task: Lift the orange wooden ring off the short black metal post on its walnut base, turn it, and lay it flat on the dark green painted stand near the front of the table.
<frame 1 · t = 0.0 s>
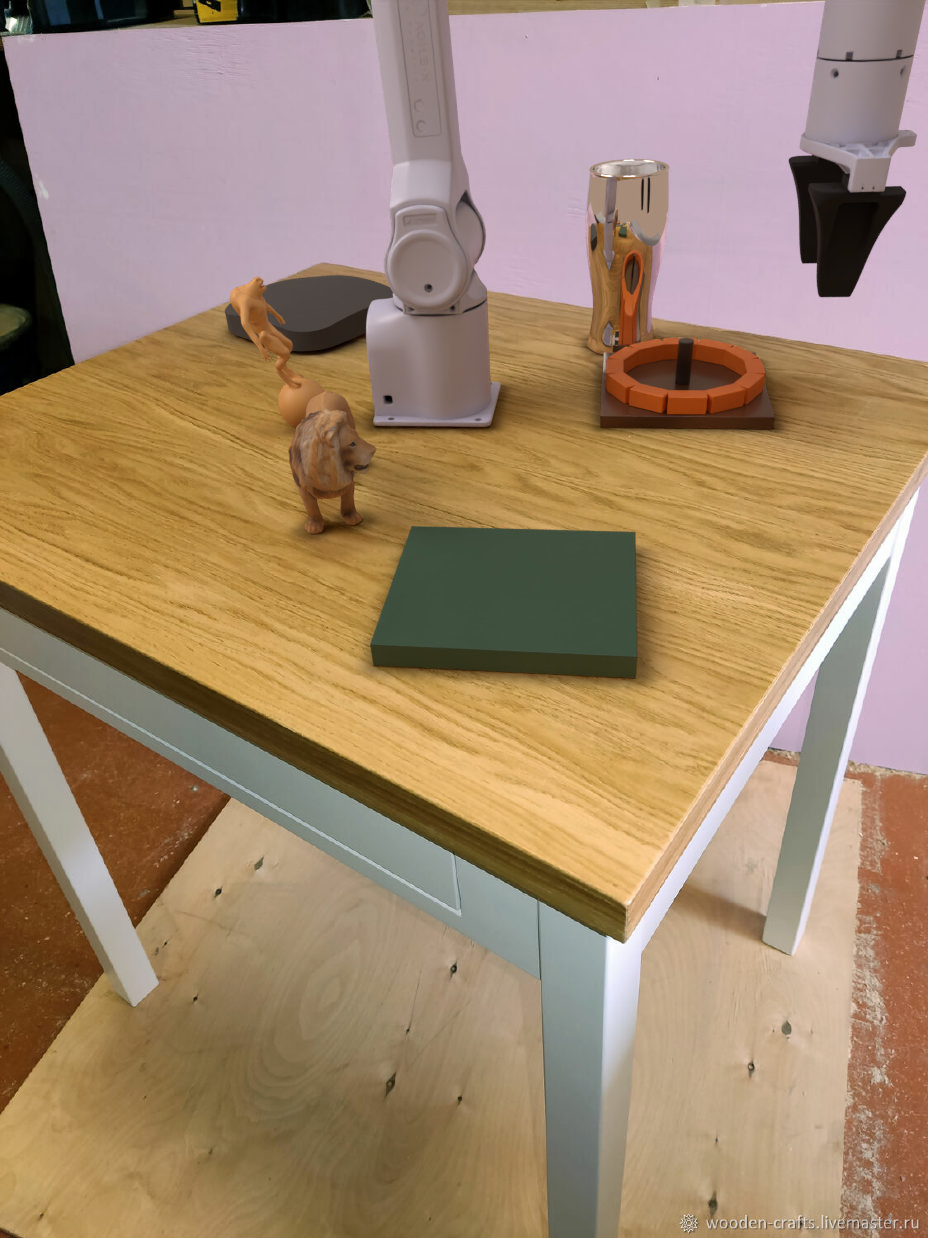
hand: (824, 278, 65), 10 cm above the table, tool pointing down, fingers open, 7 cm apart
post: (681, 393, 75), on the table
media streaming box: (315, 325, 93), on the table
lion figurine: (342, 506, 63), on the table
figurine: (295, 429, 74), on the table
ring: (682, 382, 74), point 1 cm above the table, touching post
beer glass: (620, 346, 84), on the table
stand: (512, 604, 53), on the table
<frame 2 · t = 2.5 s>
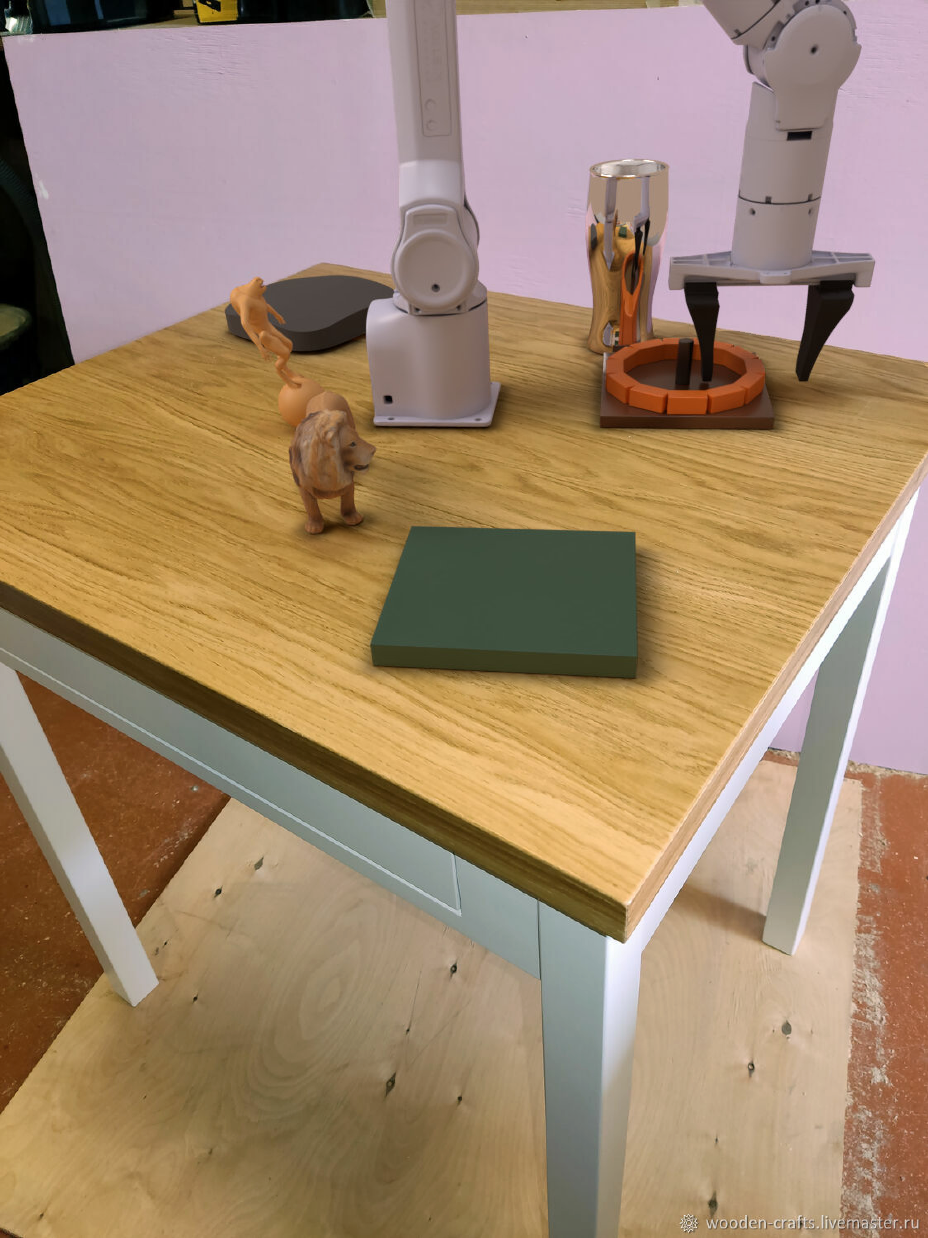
hand: (753, 376, 73), 1 cm above the table, tool pointing down, fingers open, 7 cm apart
nothing on the table moved.
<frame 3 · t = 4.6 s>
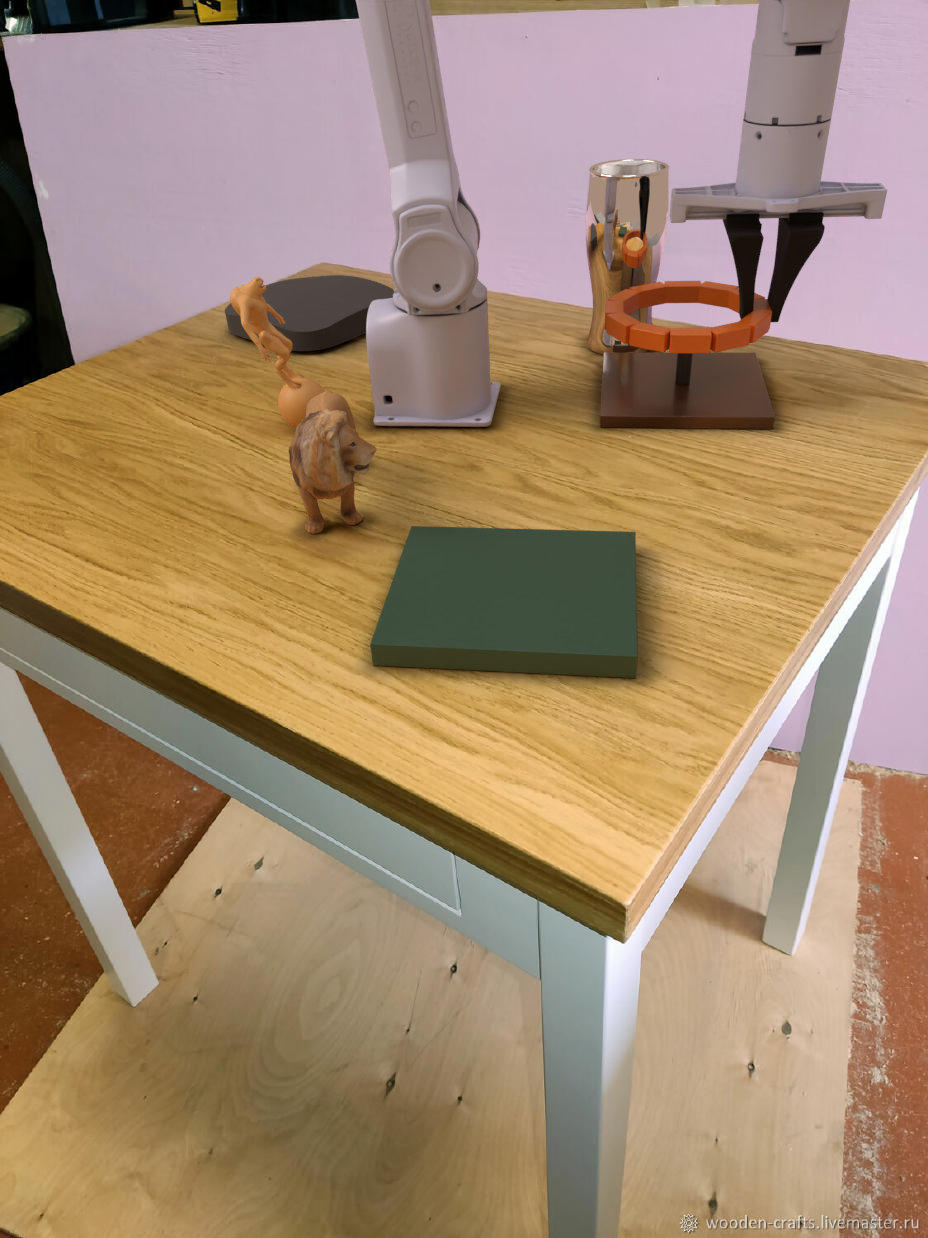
hand: (758, 317, 70), 6 cm above the table, tool pointing down, fingers closed on ring
ring: (685, 323, 71), point 6 cm above the table, touching gripper
everything else where it was.
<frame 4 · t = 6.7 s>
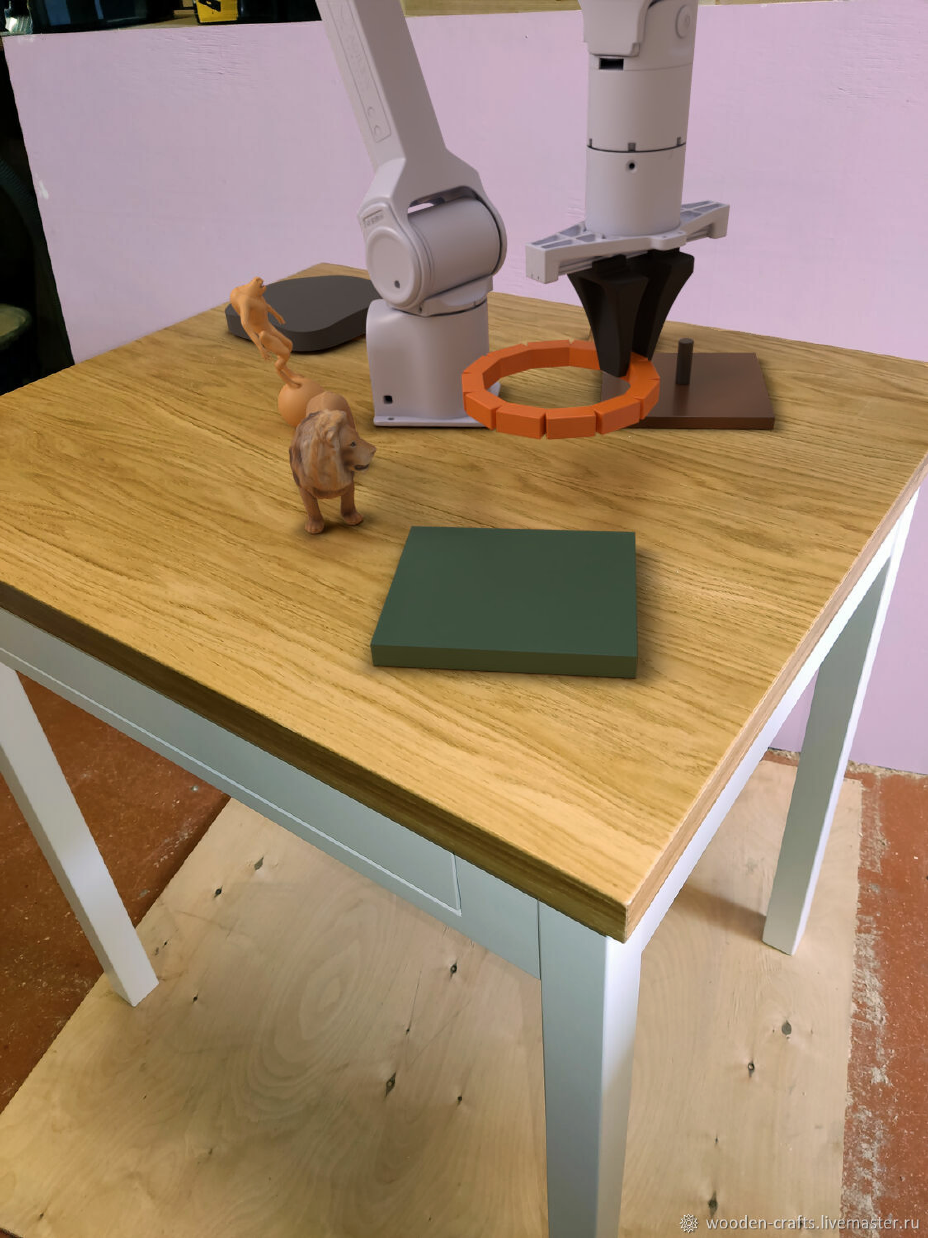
hand: (624, 368, 61), 7 cm above the table, tool pointing down, fingers closed on ring
ring: (558, 396, 59), point 7 cm above the table, touching gripper
everything else where it was.
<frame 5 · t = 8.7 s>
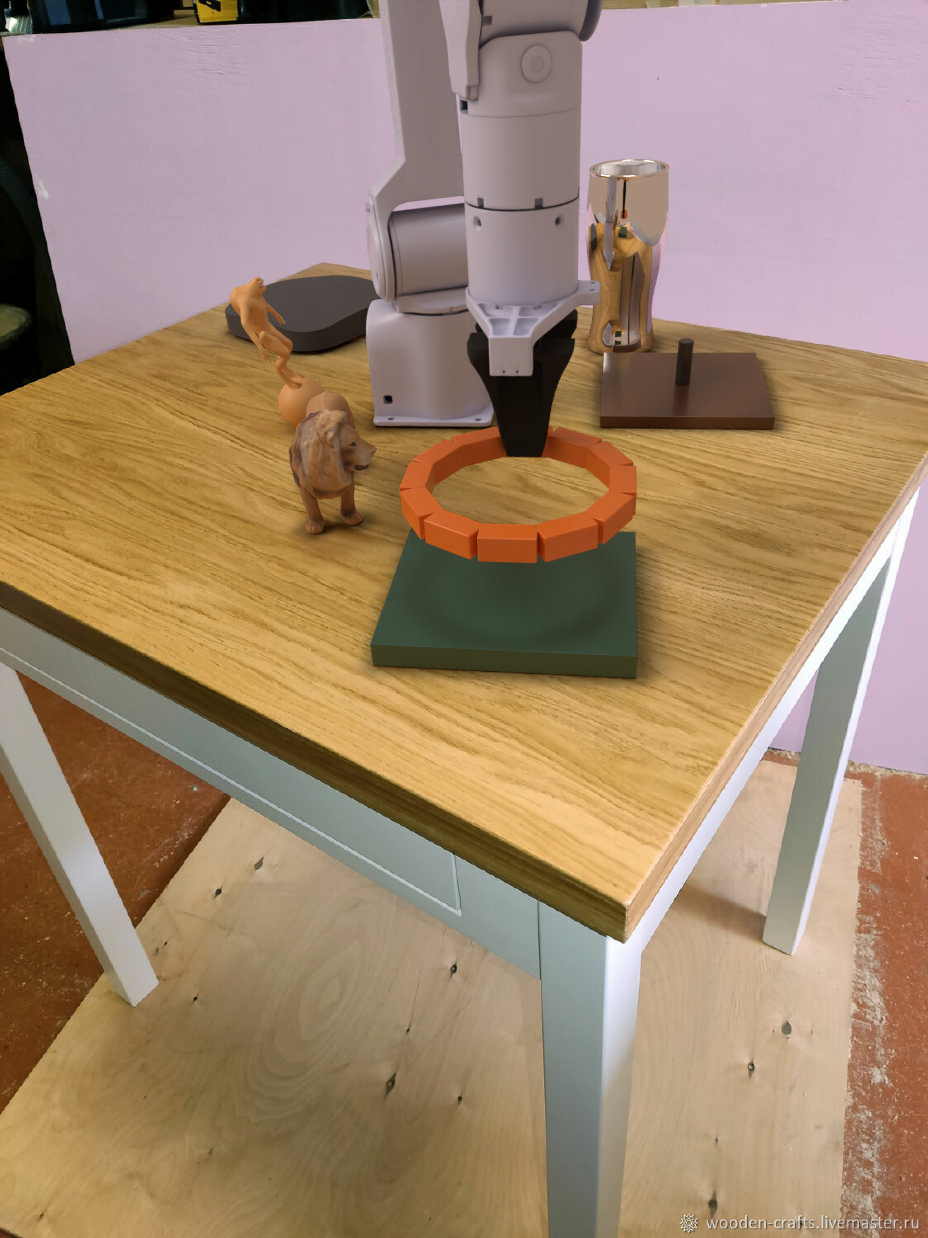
hand: (525, 446, 53), 7 cm above the table, tool pointing down, fingers closed on ring
ring: (518, 499, 49), point 7 cm above the table, touching gripper
everything else where it was.
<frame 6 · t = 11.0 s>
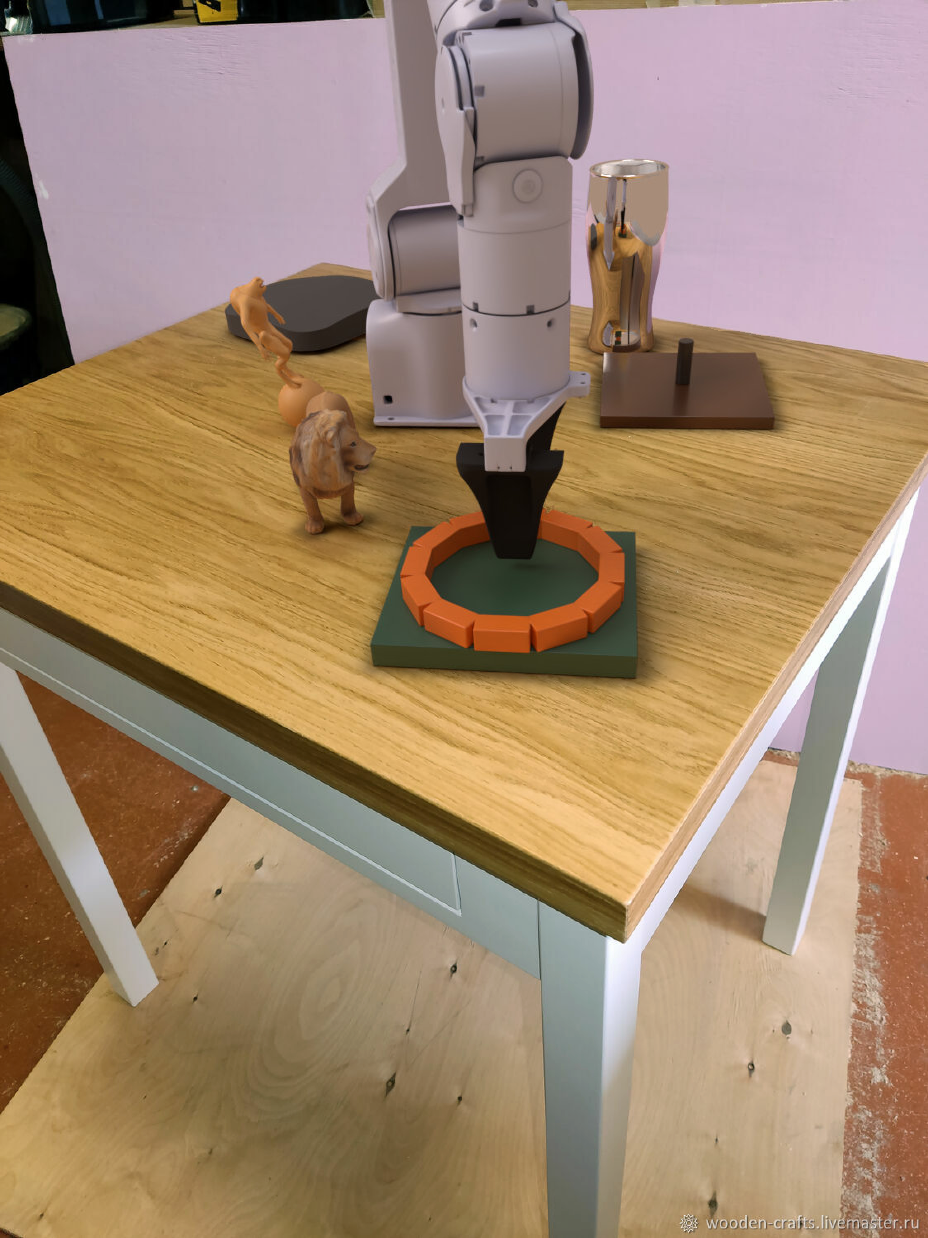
hand: (520, 521, 56), 2 cm above the table, tool pointing down, fingers open, 7 cm apart
ring: (513, 583, 52), point 1 cm above the table, touching stand
everything else where it was.
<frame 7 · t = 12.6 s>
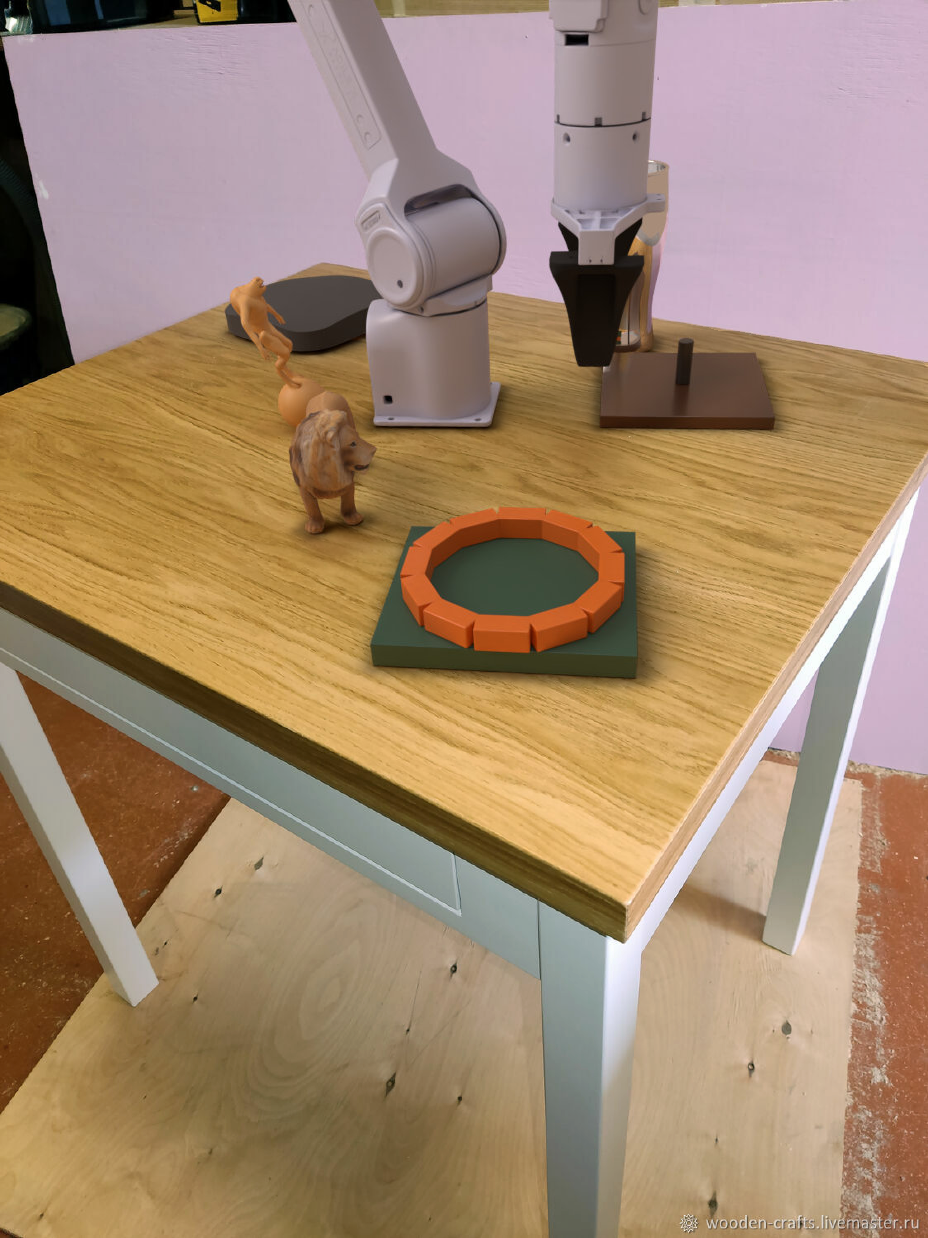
hand: (595, 343, 62), 8 cm above the table, tool pointing down, fingers open, 7 cm apart
nothing on the table moved.
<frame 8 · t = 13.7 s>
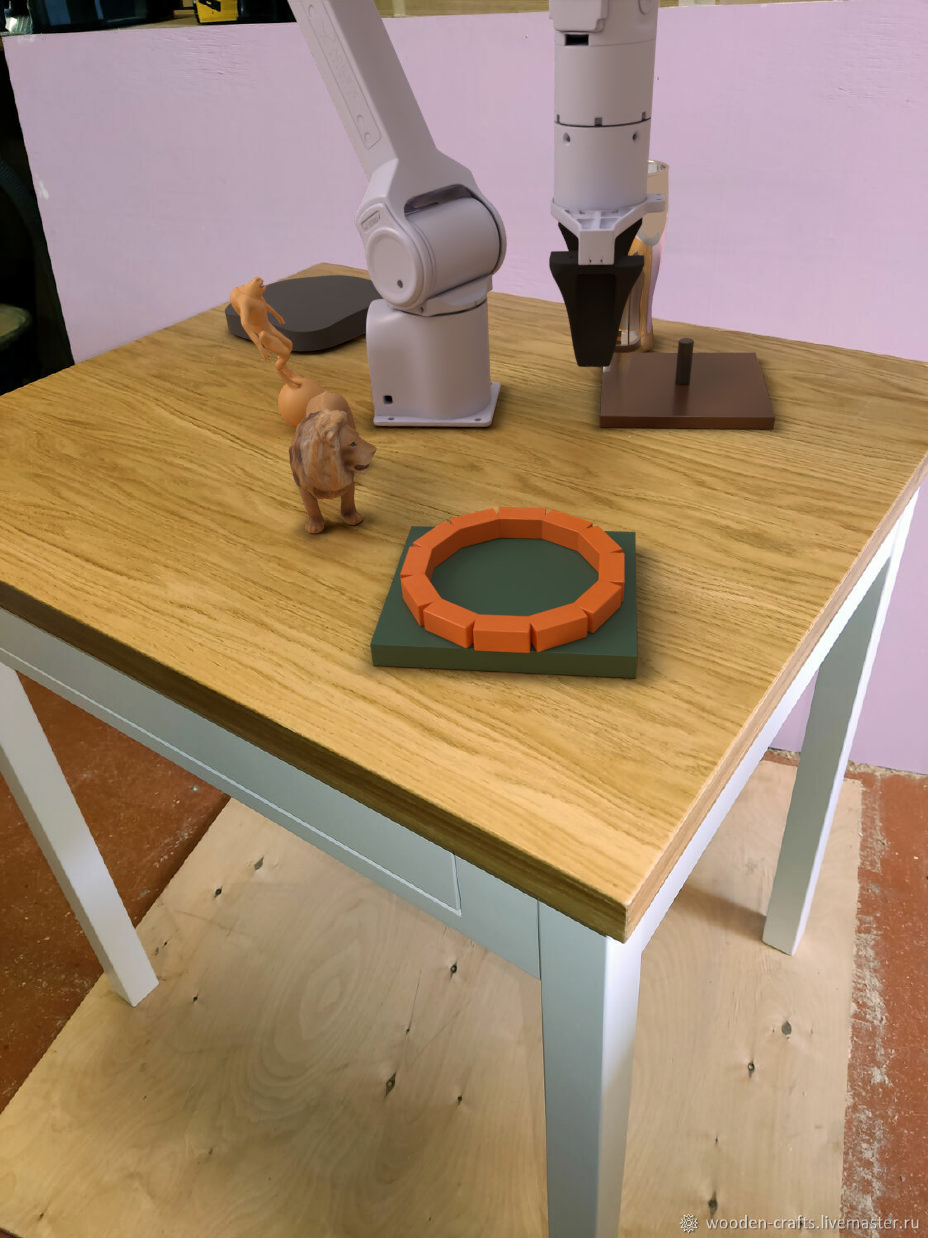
hand: (595, 343, 62), 8 cm above the table, tool pointing down, fingers open, 7 cm apart
nothing on the table moved.
at the end: ring inside the target area on the stand (0.1 cm from its centre), point 1.5 cm above the stand's base; ring tilted 0°; the gripper is holding nothing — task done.
